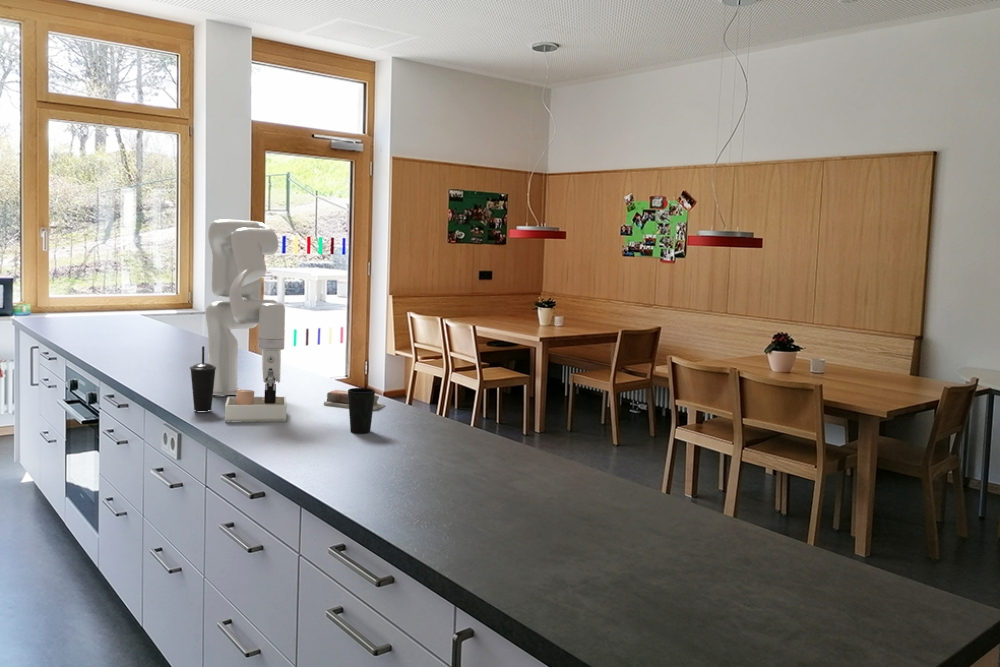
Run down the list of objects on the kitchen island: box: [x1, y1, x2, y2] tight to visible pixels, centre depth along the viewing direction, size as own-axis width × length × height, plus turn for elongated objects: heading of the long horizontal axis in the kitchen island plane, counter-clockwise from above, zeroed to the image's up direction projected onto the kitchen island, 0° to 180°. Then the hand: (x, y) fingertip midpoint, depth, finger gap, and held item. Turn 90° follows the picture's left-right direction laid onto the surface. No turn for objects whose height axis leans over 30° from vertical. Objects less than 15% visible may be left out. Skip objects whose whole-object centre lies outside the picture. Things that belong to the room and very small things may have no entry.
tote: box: [224, 396, 287, 423], centre depth 245 cm, size 13×17×5 cm
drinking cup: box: [189, 345, 216, 411], centre depth 249 cm, size 8×8×20 cm
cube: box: [261, 396, 280, 405], centre depth 246 cm, size 5×5×5 cm
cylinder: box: [235, 389, 255, 405], centre depth 244 cm, size 5×5×7 cm
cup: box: [347, 387, 376, 435], centre depth 233 cm, size 8×8×12 cm
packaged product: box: [323, 389, 386, 411], centre depth 269 cm, size 18×5×10 cm
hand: (270, 400), depth 246 cm, fingers open, 9 cm apart
